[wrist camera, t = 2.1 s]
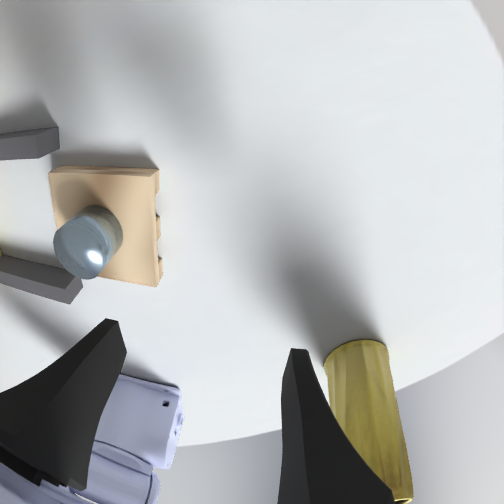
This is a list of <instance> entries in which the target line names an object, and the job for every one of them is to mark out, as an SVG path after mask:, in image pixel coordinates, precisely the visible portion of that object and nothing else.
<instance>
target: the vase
mask: <svg viewBox="0 0 504 504" xmlns="http://www.w3.org/2000/svg"><path fill="white" fill-rule="evenodd" d="M324 370H325V373H326V375H327V377H328V392H329V401H330V408H331V410H332V412H333V414H334V416H335V418H336V420H337V422H338V423H339V425H340V427H341V428H342V430H343V432H344V433H345V435H346V436H347V438H348V439H349V441H350V442H351V444H352V445H353V447H354V448H355V449H356V451H357V452H358V453H359V455H360V456H361V457H362V458H363V460H364V461H365V462H366V464H367V465H368V466H369V467H370V468H371V469H372V470H373V472H374V473H375V474H376V475H377V476H378V477H379V478H380V479H381V480H382V481H383V482H384V483H385V484H386V485H387V486H388V487H389V488H390V489H391V490H392V493H393V497H394V501H395V504H406V503H408V502H410V501H412V500H413V485H412V477H411V472H410V466H409V460H408V454H407V449H406V444H405V439H404V434H403V430H402V424H401V419H400V415H399V410H398V404H397V399H396V395H395V390H394V386H393V380H392V375H391V371H390V365H389V353H388V350H387V348H386V347H385V346H384V345H383V344H382V343H380V342H377V341H373V340H356V341H352V342H349V343H346V344H344V345H341V346H340V347H338V348H336V349H335V350H334V351H332V352H331V353H330V354H329V356H328V357H327V359H326V361H325V363H324Z"/></svg>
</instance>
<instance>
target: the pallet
mask: <svg viewBox="0 0 504 504" xmlns="http://www.w3.org/2000/svg"><path fill="white" fill-rule="evenodd" d="M48 175H49V183H50V190H51V197H52V203H53V209H54V215H55V220H56V226H57V230H58V229H59V228H60V227H61V226H62V225H64V224H65V223H66V222H67V221H68V220H70V219H71V218H72V217H73V216H75V215H76V214H77V213H78V212H80V211H81V210H82V209H83V208H85V207H86V206H89V205H100V206H103V207H105V208H107V209H108V210H110V211H111V212H112V213H113V214H114V215H115V216H116V217H117V219H118V220H119V222H120V224H121V227H122V230H123V242H122V245H121V247H120V249H119V250H118V251H117V252H116V253H115V255H114V256H113V257H112V258H111V260H110V261H109V262H108V263H107V265H106V266H105V267H104V268H103V270H102V271H101V272H100V273H99V275H98V277H103V278H108V279H113V280H119V281H124V282H129V283H135V284H140V285H146V286H151V287H157V285H158V283H159V281H160V279H161V278H162V276H163V266H162V259H160V258H158V250H157V240H158V239H159V237H160V236H161V231H160V217H156V211H155V194H156V193H157V192H158V191H159V169H145V168H126V167H101V166H60V167H58V168H56V169H54V170H52V171H51V172H49V173H48Z"/></svg>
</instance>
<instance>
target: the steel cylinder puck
mask: <svg viewBox="0 0 504 504" xmlns="http://www.w3.org/2000/svg"><path fill="white" fill-rule="evenodd" d="M122 242H123V230H122V227H121V224H120V222H119V220H118V219H117V217H116V216H115V215H114V214H113V213H112V212H111V211H110V210H108V209H107V208H105V207H103V206H100V205H89V206H86V207H85V208H83V209H82V210H81V211H80V212H78V213H77V214H76V215H75V216H73V217H72V218H71V219H70V220H68V221H67V222H66V223H65V224H64V225H62V226H61V227H60V228H59V229H58V230H57V231H56V233H55V235H54V241H53V244H54V250H55V253H56V256H57V258H58V260H59V261H60V263H61V264H62V265H63V267H64V268H65V269H66V270H67V271H68V272H70V273H71V274H73V275H74V276H76V277H78V278H81V279H93V278H95V277H97V276H98V275H99V273H100V272H101V271H102V270H103V268H104V267H105V266H106V265H107V263H108V262H109V261H110V260H111V258H112V257H113V256H114V255H115V253H116V252H117V251H118V250H119V249H120V247H121V245H122Z"/></svg>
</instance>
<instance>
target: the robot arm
mask: <svg viewBox="0 0 504 504" xmlns="http://www.w3.org/2000/svg"><path fill="white" fill-rule="evenodd" d="M126 353H127V351H126V347H125V344H124V341H123V337H122V334H121V331H120V327H119V323H118V321H115V320H111V319H107V318H106V319H104V320H103V321H102V322H101V323H100V324H98V325H97V326H96V327H95V328H94V329H93V330H92V331H91V332H89V333H88V334H87V335H86V336H85V337H84V338H83V339H82V340H80V341H79V342H78V343H77V344H76V345H75V346H73V347H72V348H71V349H70V350H69V351H68V352H66V353H65V354H64V355H63V356H61V357H60V358H59V359H58V360H56V361H55V362H54V363H52V364H51V365H50V366H48V367H47V368H45V369H44V370H42V371H41V372H39V373H38V374H36V375H35V376H33V377H31V378H29V379H28V380H26V381H24V382H22V383H21V384H19V385H17V386H15V387H13V388H10V389H8V390H6V391H4V392H1V393H0V504H93V503H90V502H88V501H86V500H83V499H82V498H80V497H78V496H77V495H76V494H78V495H80V496H83V497H85V498H87V499H89V500H92V501H94V502H96V503H98V504H157V501H158V497H159V491H160V481H159V479H158V477H157V475H156V474H155V473H152V470H153V467H155V468H162V469H169V468H170V467H171V465H172V462H173V459H174V455H175V451H176V447H177V443H178V439H179V435H180V431H181V427H182V423H183V421H184V412H183V406H182V400H181V393H180V390H179V389H178V388H174V387H170V386H165V385H161V384H156V383H152V382H148V381H144V380H140V379H136V378H132V377H128V376H125V375H121V374H120V372H121V369H122V366H123V363H124V360H125V357H126ZM281 414H282V440H283V454H282V467H281V478H280V487H279V496H278V504H395V501H394V497H393V493H392V490H391V489H390V488H389V487H388V486H387V485H386V484H385V483H384V482H383V481H382V480H381V479H380V478H379V477H378V476H377V475H376V474H375V473H374V472H373V470H372V469H371V468H370V467H369V466H368V465H367V464H366V462H365V461H364V460H363V458H362V457H361V456H360V455H359V453H358V452H357V451H356V449H355V448H354V447H353V445H352V444H351V442H350V441H349V439H348V438H347V436H346V435H345V433H344V432H343V430H342V428H341V427H340V425H339V423H338V422H337V420H336V418H335V416H334V414H333V412H332V410H331V408H330V406H329V404H328V402H327V400H326V398H325V396H324V393H323V391H322V389H321V387H320V384H319V382H318V379H317V377H316V374H315V371H314V368H313V366H312V363H311V359H310V356H309V352H308V351H307V350H306V349H294V348H291V350H290V354H289V357H288V361H287V364H286V368H285V371H284V374H283V379H282V392H281ZM75 493H76V494H75Z"/></svg>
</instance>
